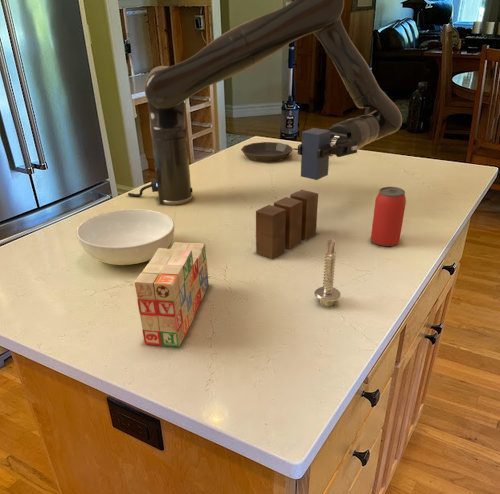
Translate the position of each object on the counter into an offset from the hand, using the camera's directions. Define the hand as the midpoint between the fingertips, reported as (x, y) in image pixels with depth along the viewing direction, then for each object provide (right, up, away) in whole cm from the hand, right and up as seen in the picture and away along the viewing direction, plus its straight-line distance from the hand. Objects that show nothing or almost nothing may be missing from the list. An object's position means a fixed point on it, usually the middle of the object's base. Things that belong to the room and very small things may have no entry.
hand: (308, 152), depth 115 cm
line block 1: (-9, -22, 0) cm, 24 cm away
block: (+2, -4, +5) cm, 7 cm away
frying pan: (-1, +19, +60) cm, 63 cm away
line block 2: (-5, -20, +4) cm, 21 cm away
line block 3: (-1, -17, +8) cm, 19 cm away
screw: (+1, -35, -18) cm, 39 cm away
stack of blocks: (-26, -37, -20) cm, 50 cm away
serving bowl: (-40, -23, +1) cm, 46 cm away
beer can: (+18, -19, +4) cm, 27 cm away
